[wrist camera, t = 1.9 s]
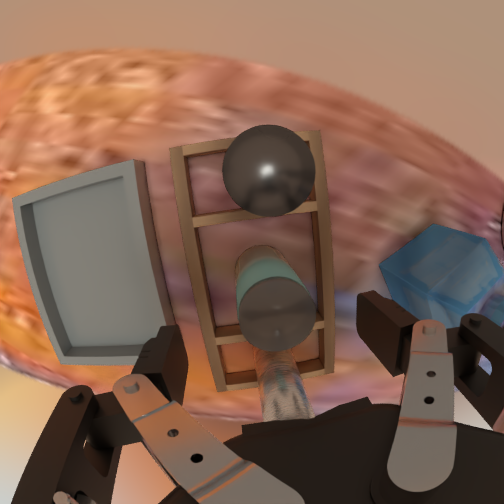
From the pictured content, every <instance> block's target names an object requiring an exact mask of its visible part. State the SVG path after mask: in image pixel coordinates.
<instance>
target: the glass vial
mask: <svg viewBox="0 0 504 504" xmlns="http://www.w3.org/2000/svg"><path fill="white" fill-rule="evenodd" d="M222 172H223V180H224V184H225V187H226V189H227V191H228V193H229V195H230V196H231V198H232V199H233V200H234V201H235V202H236V203H237V204H238V205H239V206H240V207H241V208H243V209H244V210H246V211H248V212H250V213H252V214H255V215H258V216H263V217H276V216H281V215H284V214H287V213H289V212H292V211H293V210H295V209H296V208H298V207H299V206H300V205H301V204H302V203H303V202H304V201H305V200H306V199H307V197H308V196H309V194H310V192H311V190H312V188H313V185H314V181H315V174H316V169H315V162H314V158H313V155H312V153H311V151H310V149H309V147H308V145H307V144H306V143H305V142H304V140H303V139H302V138H301V137H300V136H298V135H297V134H296V133H294V132H293V131H291V130H289V129H287V128H284V127H281V126H277V125H260V126H256V127H253V128H250V129H248V130H246V131H244V132H243V133H241V134H240V135H239V136H237V137H236V138H235V139H234V141H233V142H232V143H231V144H230V146H229V147H228V149H227V151H226V154H225V157H224V160H223V168H222Z"/></svg>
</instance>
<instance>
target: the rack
mask: <svg viewBox="0 0 504 504" xmlns="http://www.w3.org/2000/svg"><path fill="white" fill-rule="evenodd" d="M294 133H296V134H297V135H298V136H300V137H301V138H302V139H303V140H304V142H305V143H306V144H307V145H308V147H309V149H310V151H311V153H312V155H313V158H314V162H315V169H316V174H315V181H314V185H313V188H312V190H311V192H310V194H309V195H310V200H305V201H304V202H303V203H302V204H301V205H300V206H299V207H298V208H296V209H295V210H293V211H292V212H289V213H287V214H295V213H303V212H311V215H312V226H313V237H314V250H315V264H316V280H317V298H318V312H316V320H315V324H314V327H313V329H312V330H316V329H319V359H315V360H310V361H305V362H300V363H296V365H297V367H298V370H299V373H300V376H301V378H302V379H307V378H312V377H317V376H321V375H325V374H330V373H334V356H335V302H334V271H333V251H332V235H331V222H330V210H329V199H328V189H327V180H326V171H325V163H324V155H323V147H322V140H321V133H320V130H318V131H299V132H294ZM234 139H235V138H228V139H221V140H214V141H208V142H201V143H196V144H190V145H184V146H179V147H174V148H169V151H170V159H171V167H172V174H173V182H174V189H175V195H176V202H177V208H178V215H179V221H180V227H181V232H182V238H183V244H184V249H185V255H186V260H187V265H188V270H189V275H190V280H191V285H192V290H193V294H194V299H195V304H196V308H197V313H198V317H199V321H200V326H201V330H202V334H203V338H204V343H205V347H206V351H207V355H208V358H209V362H210V366H211V370H212V374H213V378H214V381H215V385H216V388H217V392H223V391H232V390H240V389H248V388H256V387H258V382H257V375H256V370H252V371H245V372H237V373H229V374H226V370H225V366H224V362H223V357H222V353H221V348H220V345H223V344H231V343H238V342H246V341H247V340H246V339H245V337H244V336H243V334H242V332H241V330H240V326H239V325H233V326H225V327H217V328H216V325H215V320H214V316H213V311H212V306H211V301H210V296H209V290H208V285H207V280H206V275H205V269H204V264H203V258H202V252H201V247H200V241H199V235H198V229H197V227H201V226H208V225H215V224H221V223H228V222H235V221H242V220H249V219H257V218H264V217H263V216H258V215H255V214H252V213H250V212H248V211H246V210H244V209H243V208H240V209H233V210H226V211H219V212H212V213H206V214H199V215H195V210H194V203H193V197H192V190H191V183H190V176H189V168H188V161H187V158H189V157H194V156H200V155H206V154H213V153H220V152H226V151H227V149H228V147H229V146H230V144H231V143H232V142H233V141H234ZM287 214H284V215H287Z"/></svg>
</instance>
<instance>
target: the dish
mask: <svg viewBox="0 0 504 504" xmlns="http://www.w3.org/2000/svg"><path fill="white" fill-rule="evenodd" d="M12 202H13V209H14V215H15V221H16V227H17V233H18V238H19V242H20V247H21V251H22V256H23V260H24V264H25V268H26V271H27V275H28V279H29V282H30V285H31V289H32V292H33V295H34V298H35V301H36V304H37V307H38V310H39V313H40V316H41V318H42V321H43V324H44V326H45V329H46V331H47V334H48V336H49V339H50V341H51V343H52V346H53V348H54V350H55V353H56V355H57V357H58V359H59V361H60V363H61V364H66V365H135V363H136V361H137V359H138V356H139V354H140V353H141V350H142V348H143V345H144V344H145V343H146V342H147V341H148V340H149V339H150V338H155V337H156V336H157V334H158V331H159V329H160V327H161V326H166V325H175V324H176V323H175V319H174V315H173V311H172V307H171V303H170V299H169V295H168V291H167V287H166V282H165V278H164V273H163V269H162V264H161V260H160V255H159V250H158V245H157V239H156V234H155V229H154V223H153V217H152V212H151V205H150V199H149V193H148V186H147V179H146V171H145V163H144V162H143V161H138V160H134V159H133V160H129V161H125V162H121V163H117V164H113V165H109V166H106V167H102V168H99V169H95V170H92V171H88V172H85V173H82V174H78V175H75V176H72V177H69V178H66V179H63V180H60V181H57V182H54V183H51V184H48V185H45V186H43V187H40V188H37V189H34V190H32V191H29V192H27V193H24V194H22V195H19V196H17V197H14V198H12Z"/></svg>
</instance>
